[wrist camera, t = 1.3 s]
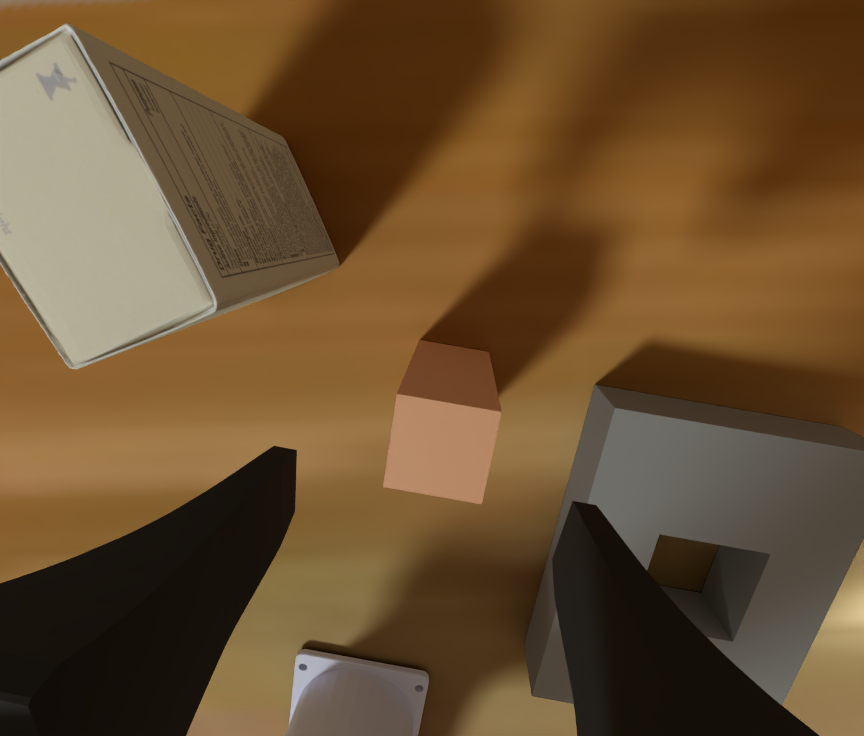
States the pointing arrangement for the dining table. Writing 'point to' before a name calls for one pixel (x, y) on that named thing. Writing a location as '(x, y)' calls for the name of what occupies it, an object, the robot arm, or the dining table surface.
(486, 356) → the rust peg
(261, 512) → the robot arm
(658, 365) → the dining table surface
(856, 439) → the grey flat block
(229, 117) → the skincare box
